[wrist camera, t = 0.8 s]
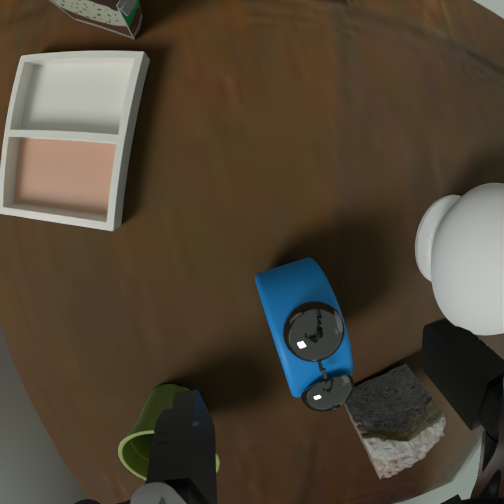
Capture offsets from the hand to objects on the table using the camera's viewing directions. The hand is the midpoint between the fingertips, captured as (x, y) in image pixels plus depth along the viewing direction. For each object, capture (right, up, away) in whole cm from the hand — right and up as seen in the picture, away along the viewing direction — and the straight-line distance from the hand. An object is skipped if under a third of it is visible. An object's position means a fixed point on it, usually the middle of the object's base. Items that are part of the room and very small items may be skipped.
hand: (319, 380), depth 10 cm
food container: (-17, +32, +16) cm, 40 cm away
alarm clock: (+2, -1, +28) cm, 28 cm away
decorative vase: (+25, +6, +28) cm, 38 cm away
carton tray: (-22, +17, +20) cm, 34 cm away
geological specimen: (+16, -16, +34) cm, 41 cm away
